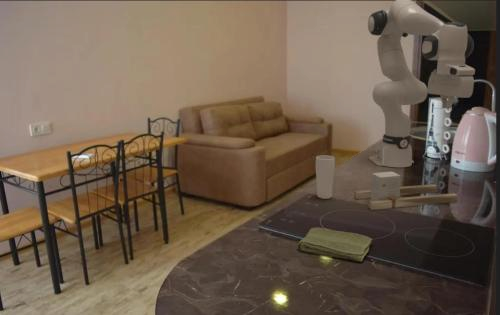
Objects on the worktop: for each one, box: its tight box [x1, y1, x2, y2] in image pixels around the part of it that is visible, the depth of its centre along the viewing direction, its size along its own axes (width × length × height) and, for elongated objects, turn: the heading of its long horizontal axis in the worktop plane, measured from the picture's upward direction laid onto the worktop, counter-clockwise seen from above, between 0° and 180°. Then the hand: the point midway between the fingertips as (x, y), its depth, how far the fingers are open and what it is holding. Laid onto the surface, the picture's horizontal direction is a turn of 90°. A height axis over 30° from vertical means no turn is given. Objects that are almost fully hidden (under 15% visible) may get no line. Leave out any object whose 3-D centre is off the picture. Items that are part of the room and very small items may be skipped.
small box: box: [370, 171, 402, 201], centre depth 137 cm, size 8×6×10 cm
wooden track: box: [353, 183, 458, 211], centre depth 141 cm, size 13×32×3 cm, turn 101°
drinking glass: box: [315, 154, 336, 200], centre depth 144 cm, size 7×7×15 cm
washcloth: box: [297, 226, 373, 263], centre depth 106 cm, size 13×18×3 cm
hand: (446, 108), depth 145 cm, fingers closed
